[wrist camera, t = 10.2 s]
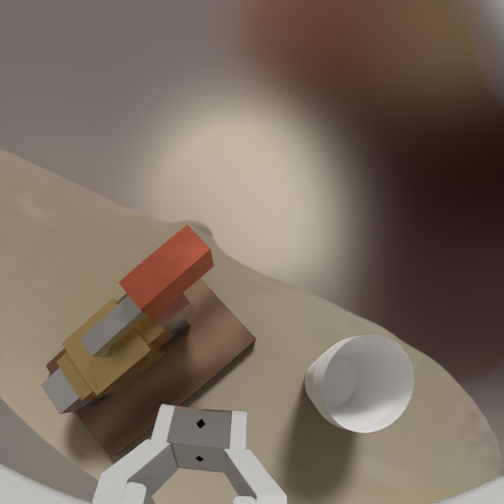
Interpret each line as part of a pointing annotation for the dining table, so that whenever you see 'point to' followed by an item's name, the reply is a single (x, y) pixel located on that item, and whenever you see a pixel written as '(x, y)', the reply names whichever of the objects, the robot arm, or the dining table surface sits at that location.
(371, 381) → the cup
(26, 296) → the dining table surface
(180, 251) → the lever
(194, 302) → the board
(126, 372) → the valve
